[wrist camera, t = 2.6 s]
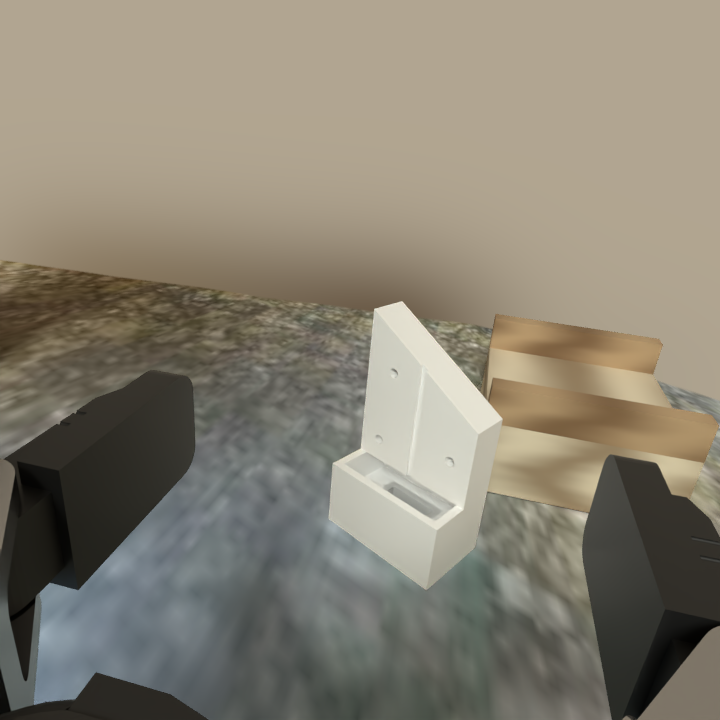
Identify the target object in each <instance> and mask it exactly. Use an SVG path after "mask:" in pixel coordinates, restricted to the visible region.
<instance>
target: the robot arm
mask: <svg viewBox="0 0 720 720" xmlns="http://www.w3.org/2000/svg"><path fill="white" fill-rule="evenodd" d="M194 452H195V424H194V402H193V386H192V382H191V380H190V379H189V378H188V377H187V376H183V375H177V374H172V373H166V372H161V371H155V370H150V371H148V372H146V373H145V374H143V375H142V376H140V377H139V378H137V379H136V380H134V381H133V382H131V383H130V384H129V385H127V386H126V387H124V388H123V389H119V390H117V391H114V392H111V393H108V394H105V395H103V396H100V397H97V398H95V399H94V400H92V401H91V402H89V403H88V404H86V405H85V406H83V407H82V408H80V409H79V410H77V413H76V414H74V413H73V414H71V415H70V416H68V417H66V418H65V419H63V420H62V421H61V423H60V425H58V424H56V425H54V426H53V427H51V428H50V429H48V430H47V431H45V432H44V433H42V434H41V435H39V436H38V437H36V438H35V439H33V440H32V441H30V442H29V443H27V444H26V445H24V446H23V447H21V448H20V449H18V450H17V451H15V452H14V453H12V454H11V455H9V456H8V457H6V458H5V459H0V720H208V719H207V718H205V717H204V716H202V715H201V714H199V713H198V712H196V711H195V710H193V709H192V708H190V707H189V706H187V705H186V704H184V703H183V702H181V701H180V700H178V699H177V698H175V697H174V696H172V695H171V694H167V693H164V692H161V691H157V690H154V689H150V688H147V687H144V686H140V685H137V684H134V683H130V682H127V681H123V680H120V679H117V678H113V677H110V676H106V675H103V674H100V673H95V674H94V676H93V677H92V678H91V680H90V681H89V682H88V684H87V685H86V686H85V688H84V689H83V690H82V692H81V693H80V694H79V696H78V697H77V698H76V700H62V701H52V702H45V703H41V704H36V705H34V693H35V681H36V669H37V657H38V645H39V632H40V620H41V599H40V594H39V593H40V592H41V591H42V590H43V589H44V588H45V587H46V586H47V585H48V584H49V583H54V584H57V585H61V586H65V587H69V588H72V589H76V590H79V589H80V588H81V586H82V585H83V584H84V583H85V582H86V581H87V580H88V579H89V578H90V577H91V576H92V575H93V573H94V572H95V571H96V570H97V569H98V568H99V567H100V566H101V565H102V564H103V563H104V561H105V560H106V559H107V558H108V557H109V556H110V555H111V554H112V553H113V552H114V551H115V550H116V548H117V547H118V546H119V545H120V544H121V543H122V542H123V541H124V540H125V539H126V538H127V536H128V535H129V534H130V533H131V532H132V531H133V530H134V529H135V528H136V527H137V526H138V525H139V523H140V522H141V521H142V520H143V519H144V518H145V517H146V516H147V515H148V514H149V513H150V511H151V510H152V509H153V508H154V507H155V506H156V505H157V504H158V503H159V502H160V501H161V500H162V498H163V497H164V496H165V495H166V494H167V493H168V492H169V491H170V490H171V489H172V488H173V486H174V485H175V484H176V483H177V482H178V481H179V480H180V479H181V478H182V477H183V476H184V474H185V473H186V472H187V470H188V469H189V467H190V465H191V462H192V460H193V456H194ZM582 556H583V564H584V569H585V575H586V580H587V586H588V591H589V597H590V602H591V608H592V613H593V619H594V624H595V630H596V635H597V641H598V646H599V651H600V657H601V662H602V668H603V673H604V679H605V684H606V690H607V695H608V701H609V706H610V712H611V717H612V720H720V537H719V535H718V533H717V531H716V529H715V527H714V526H713V524H712V522H711V520H710V519H709V518H708V517H707V516H706V515H705V514H704V513H703V512H702V511H701V510H700V509H699V508H698V507H696V506H695V505H694V504H693V503H692V502H691V501H690V500H689V499H688V498H687V497H683V496H678V495H672V494H671V492H670V490H669V488H668V485H667V483H666V481H665V479H664V477H663V474H662V472H661V470H660V468H659V466H658V464H657V463H655V462H650V461H645V460H639V459H634V458H628V457H623V456H617V455H612V454H610V455H609V456H608V457H607V458H606V460H605V462H604V464H603V468H602V471H601V474H600V478H599V481H598V484H597V488H596V491H595V494H594V498H593V501H592V505H591V508H590V511H589V515H588V518H587V521H586V525H585V530H584V535H583V545H582Z"/></svg>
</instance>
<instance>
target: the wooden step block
mask: <svg viewBox="0 0 720 720" xmlns="http://www.w3.org/2000/svg"><path fill="white" fill-rule="evenodd" d="M662 346H663V344H662V343H661V342H660V340H659V339H656V338H649V337H643V336H636V335H630V334H623V333H616V332H610V331H603V330H596V329H590V328H584V327H577V326H571V325H564V324H558V323H551V322H545V321H538V320H531V319H525V318H518V317H512V316H505V315H499V314H496V315H495V320H494V326H493V330H492V336H491V341H490V346H489V351H488V356H487V361H486V366H485V372H484V377H483V382H482V387H481V392H480V393H481V394H482V395H483V396H484V398H485V399H486V400H487V401H488V402H489V404H490V405H491V406H492V407H493V408H494V409H495V411H496V412H497V413H498V414H499V415H500V416H501V418H502V419H503V421H502V425H501V430H500V434H499V439H498V444H497V448H496V453H495V457H494V462H493V467H492V471H491V476H490V481H489V485H488V490H487V492H492V493H497V494H501V495H506V496H511V497H516V498H521V499H525V500H530V501H535V502H540V503H545V504H549V505H554V506H559V507H564V508H569V509H573V510H578V511H583V512H588V513H589V511H590V508H591V505H592V501H593V498H594V494H595V491H596V488H597V484H598V481H599V478H600V474H601V471H602V468H603V464H604V462H605V460H606V458H607V457H608V456H609V455H610V454H612V455H617V456H623V457H628V458H634V459H639V460H645V461H650V462H655V463H657V464H658V466H659V468H660V470H661V472H662V474H663V477H664V479H665V481H666V483H667V485H668V488H669V490H670V492H671V494H672V495H678V496H683V497H687V498H688V499H690V497H691V494H692V492H693V489H694V487H695V484H696V482H697V479H698V477H699V474H700V472H701V470H702V467H703V465H704V462H705V460H706V457H707V455H708V452H709V450H710V447H711V445H712V442H713V440H714V437H715V435H716V432H717V430H718V427H719V425H718V423H717V422H716V421H715V419H714V418H713V416H712V415H708V414H702V413H696V412H690V411H684V410H679V409H673V408H672V407H671V405H670V403H669V401H668V400H667V398H666V396H665V394H664V393H663V391H662V389H661V387H660V386H659V384H658V382H657V381H656V379H655V377H654V375H653V373H654V370H655V367H656V364H657V361H658V358H659V355H660V352H661V349H662Z"/></svg>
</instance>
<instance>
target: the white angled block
mask: <svg viewBox="0 0 720 720" xmlns="http://www.w3.org/2000/svg"><path fill="white" fill-rule="evenodd" d="M502 421H503V419H502V418H501V416H500V415H499V414H498V413H497V412H496V411H495V409H494V408H493V407H492V406H491V405H490V404H489V402H488V401H487V400H486V399H485V398H484V396H483V395H482V394H481V393H480V392H479V391H478V389H477V388H476V387H475V386H474V385H473V384H472V382H471V381H470V380H469V379H468V378H467V377H466V375H465V374H464V373H463V372H462V371H461V370H460V368H459V367H458V366H457V365H456V364H455V363H454V361H453V360H452V359H451V358H450V357H449V356H448V354H447V353H446V352H445V351H444V350H443V348H442V347H441V346H440V345H439V344H438V343H437V341H436V340H435V339H434V338H433V337H432V336H431V334H430V333H429V332H428V331H427V330H426V329H425V327H424V326H423V325H422V324H421V323H420V322H419V320H418V319H417V318H416V317H415V316H414V315H413V313H412V312H411V311H410V310H409V309H408V308H407V306H406V305H405V304H404V303H403V302H402V301H401V302H398V303H394V304H391V305H387V306H383V307H380V308H376V309H375V310H374V319H373V329H372V339H371V349H370V359H369V370H368V380H367V390H366V400H365V410H364V420H363V431H362V441H361V449H359V450H357V451H355V452H353V453H351V454H350V455H348V456H346V457H344V458H342V459H340V460H338V461H336V462H334V463H333V467H332V480H331V493H330V507H329V519H330V520H331V521H332V522H334V523H335V524H336V525H338V526H339V527H341V528H342V529H343V530H345V531H346V532H347V533H349V534H350V535H351V536H353V537H354V538H356V539H357V540H358V541H360V542H361V543H362V544H364V545H365V546H366V547H368V548H369V549H370V550H372V551H373V552H375V553H376V554H377V555H379V556H380V557H381V558H383V559H384V560H385V561H387V562H388V563H390V564H391V565H392V566H394V567H395V568H396V569H398V570H399V571H400V572H402V573H403V574H405V575H406V576H407V577H409V578H410V579H411V580H413V581H414V582H415V583H417V584H418V585H420V586H421V587H422V588H424V589H425V590H427V589H428V588H430V587H431V586H432V585H433V584H434V583H435V582H436V581H438V580H439V579H440V578H441V577H442V576H443V575H444V574H446V573H447V572H448V571H449V570H450V569H451V568H452V567H454V566H455V565H456V564H457V563H458V562H459V561H460V560H461V559H463V558H464V557H465V556H466V555H467V554H468V553H469V552H471V551H472V550H473V549H474V548H475V545H476V541H477V536H478V531H479V527H480V522H481V517H482V513H483V508H484V504H485V499H486V494H487V490H488V485H489V481H490V476H491V471H492V467H493V462H494V457H495V453H496V448H497V444H498V439H499V434H500V430H501V425H502Z"/></svg>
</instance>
